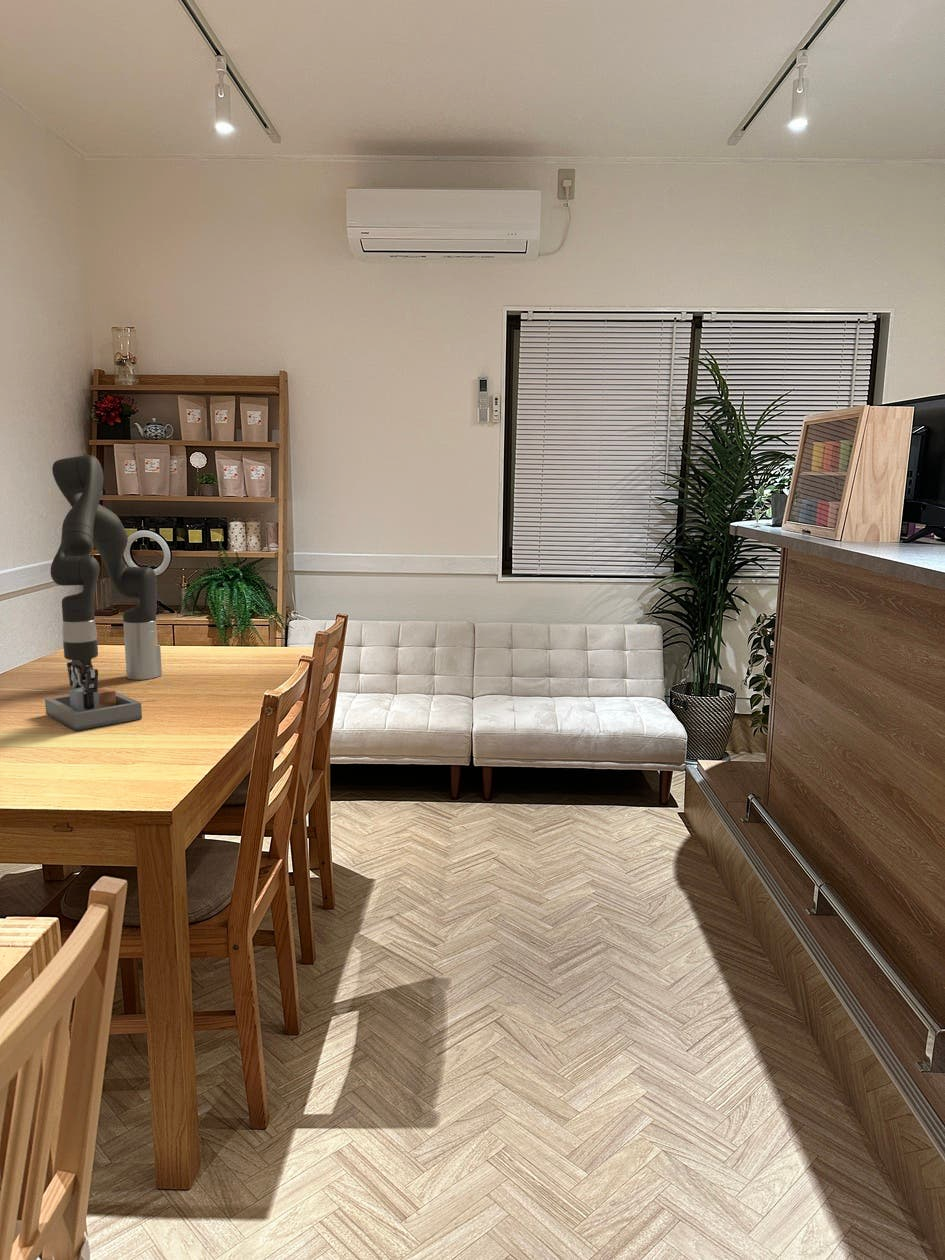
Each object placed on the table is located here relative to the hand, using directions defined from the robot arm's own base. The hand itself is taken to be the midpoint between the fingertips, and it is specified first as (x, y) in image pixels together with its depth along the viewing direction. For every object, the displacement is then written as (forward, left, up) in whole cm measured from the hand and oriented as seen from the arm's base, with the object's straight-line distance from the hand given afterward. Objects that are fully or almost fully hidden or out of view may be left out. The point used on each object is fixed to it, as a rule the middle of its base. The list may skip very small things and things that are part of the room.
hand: (84, 706), depth 210 cm
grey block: (0, 0, -1) cm, 1 cm away
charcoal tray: (-3, -3, -4) cm, 6 cm away
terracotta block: (-6, -5, -3) cm, 8 cm away
